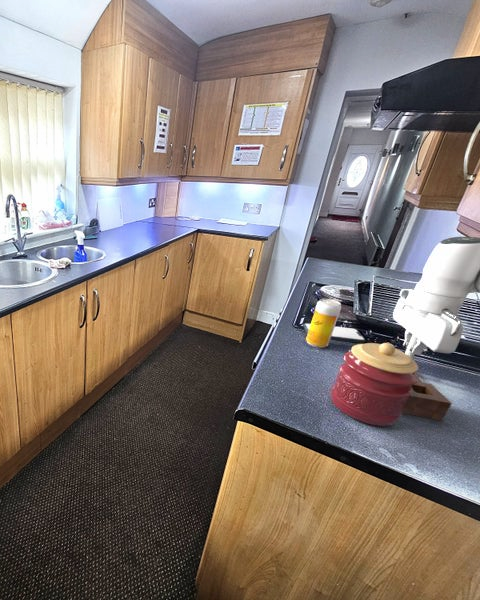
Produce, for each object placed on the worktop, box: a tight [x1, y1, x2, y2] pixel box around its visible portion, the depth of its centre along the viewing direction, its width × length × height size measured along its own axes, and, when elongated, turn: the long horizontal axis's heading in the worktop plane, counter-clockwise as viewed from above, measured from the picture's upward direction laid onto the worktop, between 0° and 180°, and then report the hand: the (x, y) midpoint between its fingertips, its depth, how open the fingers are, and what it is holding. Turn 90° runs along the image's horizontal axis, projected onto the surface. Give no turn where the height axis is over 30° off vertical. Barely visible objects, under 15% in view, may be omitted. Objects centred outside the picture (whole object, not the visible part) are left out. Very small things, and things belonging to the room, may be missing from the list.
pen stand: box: [402, 382, 453, 422], centre depth 78 cm, size 8×8×5 cm
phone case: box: [302, 322, 366, 344], centre depth 112 cm, size 9×2×16 cm
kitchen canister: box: [329, 342, 420, 427], centre depth 75 cm, size 13×13×18 cm
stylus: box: [404, 335, 418, 360], centre depth 86 cm, size 2×2×14 cm
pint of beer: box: [305, 298, 342, 349], centre depth 103 cm, size 6×6×15 cm
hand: (411, 350), depth 86 cm, fingers closed on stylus, 2 cm apart
